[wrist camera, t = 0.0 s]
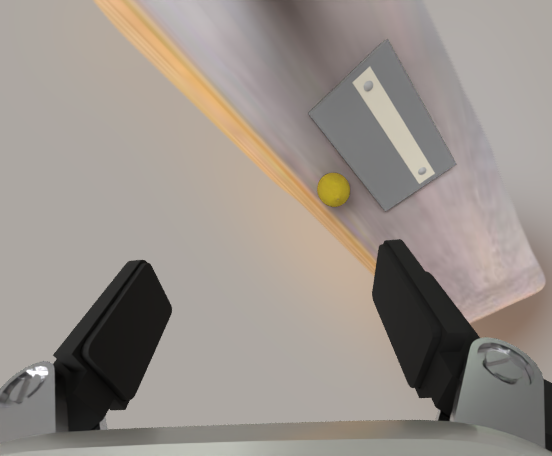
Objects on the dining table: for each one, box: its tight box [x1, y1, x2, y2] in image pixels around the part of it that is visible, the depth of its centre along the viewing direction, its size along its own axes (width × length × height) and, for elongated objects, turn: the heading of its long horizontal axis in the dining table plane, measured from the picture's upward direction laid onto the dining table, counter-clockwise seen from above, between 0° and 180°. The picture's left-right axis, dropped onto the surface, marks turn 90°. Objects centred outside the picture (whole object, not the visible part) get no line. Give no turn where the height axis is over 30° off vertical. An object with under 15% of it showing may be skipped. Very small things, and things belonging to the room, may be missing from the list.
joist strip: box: [352, 67, 435, 184], centre depth 40 cm, size 22×3×1 cm, turn 43°
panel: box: [308, 39, 456, 212], centre depth 42 cm, size 24×14×2 cm, turn 43°
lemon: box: [317, 173, 350, 207], centre depth 43 cm, size 6×6×8 cm
